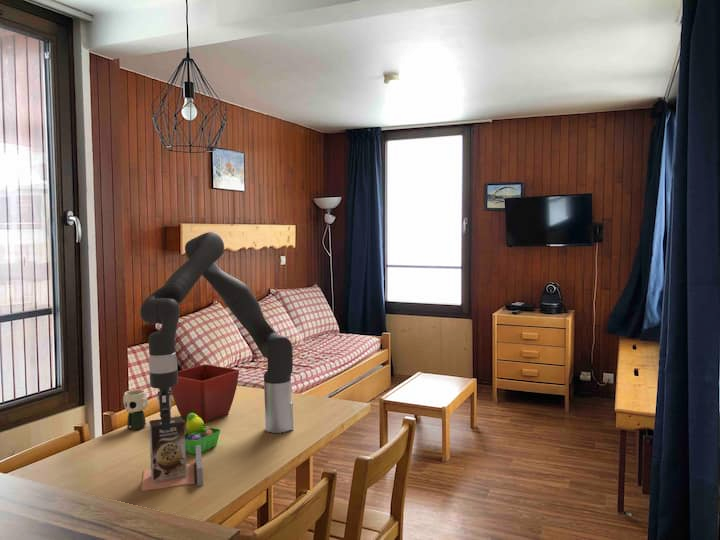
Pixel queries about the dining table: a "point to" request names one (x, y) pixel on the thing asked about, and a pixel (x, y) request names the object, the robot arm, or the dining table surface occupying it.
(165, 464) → the coffee box
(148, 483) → the mat
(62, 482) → the dining table surface
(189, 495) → the dining table surface
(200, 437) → the fruit basket
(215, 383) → the plant pot
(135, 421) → the character mug
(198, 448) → the low wall
